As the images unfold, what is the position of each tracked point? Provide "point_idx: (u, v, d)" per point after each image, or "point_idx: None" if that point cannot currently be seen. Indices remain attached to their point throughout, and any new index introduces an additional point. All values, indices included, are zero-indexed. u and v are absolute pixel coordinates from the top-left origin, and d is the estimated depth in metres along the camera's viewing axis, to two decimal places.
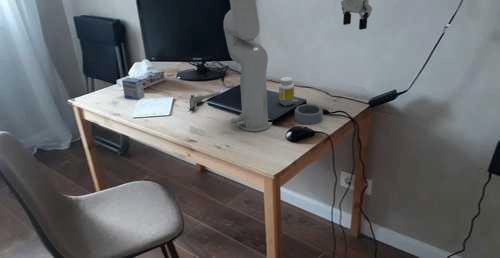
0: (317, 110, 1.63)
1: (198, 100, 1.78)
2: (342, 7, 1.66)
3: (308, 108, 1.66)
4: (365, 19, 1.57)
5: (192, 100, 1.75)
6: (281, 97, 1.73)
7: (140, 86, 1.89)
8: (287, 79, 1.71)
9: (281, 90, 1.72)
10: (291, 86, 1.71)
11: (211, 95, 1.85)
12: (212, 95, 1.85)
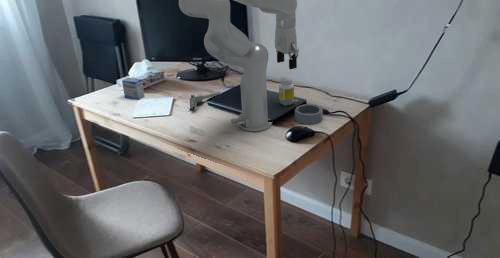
0: (317, 110, 1.63)
1: (198, 100, 1.78)
2: None
3: (308, 108, 1.66)
4: (294, 60, 1.63)
5: (192, 100, 1.75)
6: (281, 97, 1.73)
7: (140, 86, 1.89)
8: (287, 79, 1.71)
9: (281, 90, 1.72)
10: (291, 86, 1.71)
11: (211, 95, 1.85)
12: (212, 95, 1.85)
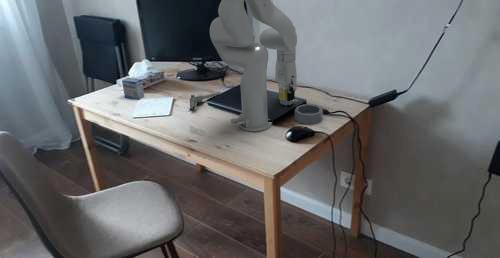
0: (317, 110, 1.63)
1: (198, 100, 1.79)
2: None
3: (308, 108, 1.66)
4: (292, 93, 1.71)
5: (192, 100, 1.75)
6: (281, 97, 1.73)
7: (140, 86, 1.89)
8: None
9: (281, 90, 1.72)
10: (291, 86, 1.71)
11: (211, 95, 1.85)
12: (212, 95, 1.85)
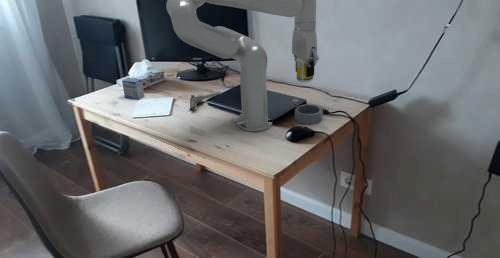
0: (317, 110, 1.63)
1: (198, 100, 1.79)
2: None
3: (308, 108, 1.66)
4: (312, 67, 1.53)
5: (192, 100, 1.75)
6: (299, 72, 1.55)
7: (140, 86, 1.89)
8: None
9: (299, 64, 1.54)
10: (310, 60, 1.53)
11: (211, 95, 1.85)
12: (212, 95, 1.85)
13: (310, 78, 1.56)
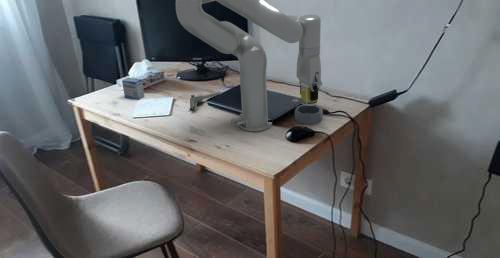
0: (317, 110, 1.63)
1: (198, 100, 1.79)
2: None
3: (308, 108, 1.66)
4: (316, 91, 1.54)
5: (192, 100, 1.75)
6: (303, 96, 1.57)
7: (140, 86, 1.89)
8: None
9: (303, 88, 1.55)
10: (314, 84, 1.54)
11: (211, 95, 1.85)
12: (212, 95, 1.86)
13: (314, 102, 1.57)
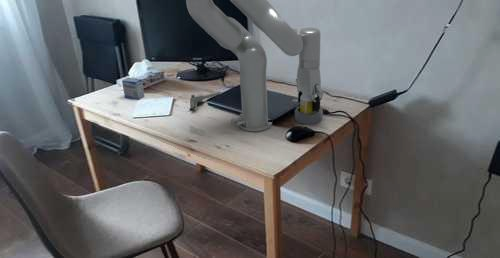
0: (317, 110, 1.63)
1: (198, 100, 1.79)
2: None
3: None
4: (317, 102, 1.54)
5: (193, 100, 1.75)
6: (302, 109, 1.59)
7: (140, 86, 1.89)
8: None
9: (302, 102, 1.58)
10: None
11: (211, 95, 1.85)
12: (212, 95, 1.86)
13: None
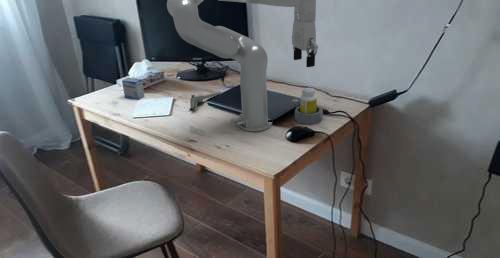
0: (317, 110, 1.63)
1: (199, 100, 1.79)
2: None
3: None
4: (312, 57, 1.50)
5: (193, 100, 1.75)
6: (302, 109, 1.59)
7: (140, 86, 1.89)
8: (310, 90, 1.57)
9: (302, 102, 1.58)
10: (313, 98, 1.57)
11: (211, 95, 1.85)
12: (212, 95, 1.86)
13: None
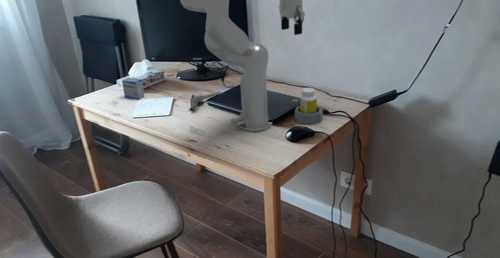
0: (317, 110, 1.63)
1: (199, 100, 1.79)
2: None
3: None
4: (299, 24, 1.57)
5: (193, 100, 1.75)
6: (302, 109, 1.59)
7: (140, 86, 1.89)
8: (310, 90, 1.57)
9: (302, 102, 1.58)
10: (313, 98, 1.57)
11: (211, 95, 1.85)
12: (212, 95, 1.86)
13: None
